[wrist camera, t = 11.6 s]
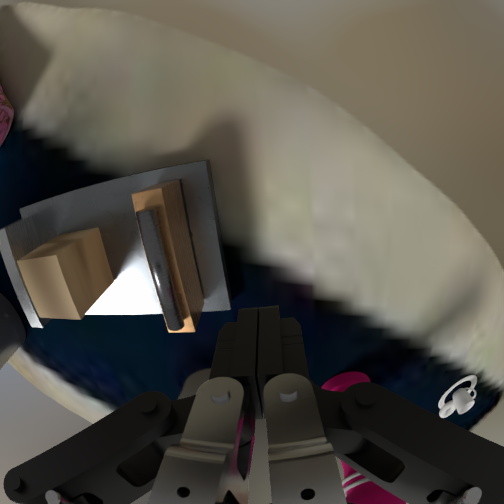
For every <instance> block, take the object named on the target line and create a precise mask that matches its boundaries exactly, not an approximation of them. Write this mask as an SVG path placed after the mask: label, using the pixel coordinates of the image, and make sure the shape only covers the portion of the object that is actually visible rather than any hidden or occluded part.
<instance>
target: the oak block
mask: <svg viewBox="0 0 504 504" xmlns="http://www.w3.org/2000/svg"><path fill="white" fill-rule="evenodd" d="M17 263H18V266H19V268H20V271H21V274H22V277H23V279H24V282H25V285H26V287H27V290H28V292H29V294H30V297H31V299H32V302H33V304H34V306H35V308H36V311H37V313H38V315H39V317H41V318H58V319H82V317H83V316H84V315H85V314H86V313H87V312H88V310H89V309H90V308H91V307H92V306H93V305H94V304H95V302H96V301H97V300H98V299H99V298H100V297H101V296H102V295H103V293H104V292H105V291H106V290H107V289H108V288H109V287H110V286H111V285H112V284H113V282H114V279H113V276H112V272H111V269H110V266H109V263H108V259H107V256H106V253H105V249H104V246H103V242H102V238H101V234H100V231H99V227H98V228H92V229H87V230H82V231H76V232H71V233H66V234H61V235H58V236H56V237H54V238H53V239H51V240H49V241H48V242H46V243H44V244H43V245H41V246H40V247H38V248H36V249H35V250H33V251H32V252H30V253H29V254H27V255H25V256H24V257H22V258H21V259H19V260H18V261H17Z"/></svg>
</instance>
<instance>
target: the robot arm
mask: <svg viewBox="0 0 504 504" xmlns="http://www.w3.org/2000/svg"><path fill="white" fill-rule="evenodd" d="M25 339H26V333H25V329H24V326H23V323H22V321H21V319H20V317H19V315H18V313H17V312H16V310H15V309H14V307H13V306H12V304H11V303H10V302H9V301H8V300H7V298H6V297H4V296H3V295H2V294H1V293H0V369H1V368H2V367H3V366H4V364H5V363H6V362H7V361H8V360H9V359H10V357H11V356H12V355H13V354H14V353H15V352H16V350H17V349H18V348H19V347H20V346H21V345H22V344H23V343H24V341H25ZM263 412H264V418H265V419H266V427H267V439H268V463H269V474H270V485H271V497H272V503H271V504H355V503H351V502H346V498H345V494H344V489H343V485H342V481H341V478H340V473H339V470H338V465H337V461H336V458H335V456H337V457H338V458H339V459H340V460H342V461H343V462H345V463H346V464H347V465H349V466H350V467H352V468H353V469H354V470H356V471H357V472H359V473H360V474H362V475H363V476H365V477H366V478H368V479H369V480H371V481H372V482H374V483H375V484H377V485H379V486H380V487H382V488H383V489H385V490H387V491H388V492H390V493H392V494H393V495H395V496H397V497H398V498H400V499H402V500H403V501H405V502H407V503H409V504H504V447H503V446H501V445H498V444H496V443H494V442H492V441H489V440H487V439H485V438H483V437H480V436H478V435H476V434H474V433H472V432H470V431H467V430H465V429H463V428H461V427H459V426H457V425H455V424H453V423H451V422H449V421H447V420H445V419H443V418H441V417H439V416H437V415H435V414H433V413H431V412H429V411H427V410H425V409H423V408H421V407H419V406H417V405H415V404H413V403H412V402H410V401H408V400H406V399H404V398H402V397H400V396H399V395H397V394H395V393H393V392H391V391H389V390H388V389H386V388H384V387H382V386H380V385H378V384H376V383H372V382H359V383H356V384H353V385H351V386H349V387H348V388H347V389H346V390H345V391H344V392H339V391H331V390H326V389H322V388H320V387H318V386H317V385H315V384H314V383H313V382H312V381H311V379H310V377H309V375H308V369H307V363H306V357H305V350H304V345H303V338H302V333H301V327H300V324H299V323H298V322H297V321H296V320H295V319H294V318H283V319H279V307H278V306H272V307H260V309H259V308H248V309H239V313H238V320H237V322H230V323H226V324H225V325H224V326H223V328H222V329H221V330H220V331H219V336H218V340H217V345H216V351H215V354H214V358H213V363H212V368H211V372H210V377H209V380H208V381H206V382H205V383H204V384H202V385H201V386H200V388H199V389H198V391H197V394H196V395H193V396H191V397H187V398H184V399H178V400H173V401H170V400H169V398H168V397H167V396H166V395H165V394H163V393H160V392H146V393H143V394H140V395H139V396H137V397H135V398H134V399H132V400H131V401H129V402H128V403H126V404H125V405H123V406H121V407H120V408H118V409H117V410H115V411H114V412H112V413H110V414H109V415H107V416H105V417H104V418H102V419H101V420H99V421H97V422H96V423H94V424H92V425H91V426H89V427H88V428H86V429H84V430H82V431H81V432H79V433H77V434H76V435H74V436H72V437H70V438H69V439H67V440H65V441H64V442H62V443H60V444H58V445H57V446H54V447H53V448H51V449H49V450H47V451H45V452H43V453H42V454H40V455H38V456H36V457H34V458H32V459H30V460H28V461H27V462H24V463H23V464H21V465H19V466H17V467H15V468H13V469H11V470H10V471H8V473H7V474H6V476H5V478H4V490H5V493H6V495H7V496H8V497H9V499H10V500H12V501H13V502H15V503H16V504H130V503H132V502H133V501H135V500H136V499H138V498H140V497H141V496H143V495H144V494H146V493H147V492H149V491H150V490H152V491H151V493H150V496H149V499H148V502H147V504H248V499H249V491H248V481H249V474H250V468H251V461H252V454H253V447H254V440H255V436H254V433H255V419H263Z"/></svg>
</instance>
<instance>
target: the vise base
mask: <svg viewBox="0 0 504 504" xmlns="http://www.w3.org/2000/svg"><path fill="white" fill-rule="evenodd" d="M175 180H179V181H180V187H181V192H182V198H183V204H184V209H185V215H186V220H187V225H188V230H189V235H190V240H191V245H192V250H193V255H194V259H195V264H196V269H197V273H198V278H199V282H200V287H201V291H202V295H203V299H204V306H203V309H202V312H204V311H220V310H231V305H232V295H231V290H230V284H229V279H228V273H227V267H226V262H225V256H224V250H223V244H222V238H221V232H220V226H219V220H218V213H217V207H216V201H215V194H214V188H213V181H212V174H211V168H210V161H209V160H204V161H198V162H192V163H186V164H181V165H175V166H170V167H165V168H160V169H155V170H151V171H146V172H141V173H137V174H133V175H129V176H124V177H120V178H116V179H112V180H108V181H105V182H101V183H97V184H94V185H90V186H86V187H83V188H80V189H76V190H73V191H70V192H66V193H63V194H60V195H57V196H54V197H51V198H48V199H45V200H42V201H39V202H36V203H33V204H31V205H28V206H25V207H23V208H21V209H20V213H21V217H22V219H20V220H17V221H15V222H13V223H11V224H9V225H7V226H5V227H3V228H1V229H0V251H1V254H2V257H3V260H4V263H5V266H6V269H7V272H8V274H9V277H10V280H11V282H12V285H13V287H14V290H15V292H16V294H17V297H18V299H19V301H20V304H21V306H22V308H23V310H24V312H25V315H26V317H27V319H28V321H29V323H30V325H31V327H38V328H43V327H44V326H45V325H46V324H47V323H48V322H49V321H50V320H51V319H52V318H41V317H39V315H38V313H37V311H36V308H35V306H34V304H33V302H32V299H31V297H30V294H29V292H28V290H27V287H26V285H25V282H24V279H23V277H22V274H21V271H20V268H19V266H18V263H17V261H18V260H19V259H21V258H22V257H24V256H25V255H27V254H29V253H30V252H32V251H33V250H35V249H36V248H38V247H40V246H41V245H43V244H44V243H46V242H48V241H49V240H51V239H53V238H54V237H56V236H58V235H61V234H66V233H71V232H76V231H82V230H87V229H92V228H98V227H99V231H100V234H101V238H102V242H103V246H104V249H105V253H106V256H107V259H108V263H109V266H110V269H111V272H112V276H113V279H114V282H113V284H112V285H111V286H110V287H109V288H108V289H107V290H106V291H105V292H104V293H103V295H102V296H101V297H100V298H99V299H98V300H97V301H96V302H95V304H94V305H93V306H92V307H91V308H90V309H89V310H88V312H87V313H86V314H85V315H123V314H163V313H162V310H161V306H160V303H159V300H158V297H157V294H156V290H155V287H154V284H153V280H152V277H151V273H150V270H149V266H148V263H147V259H146V255H145V251H144V247H143V243H142V239H141V235H140V231H139V227H138V223H137V218H136V214H135V209H134V204H133V200H132V195H131V194H133V193H135V192H137V191H140V190H142V189H144V188H146V187H149V186H151V185H153V184H158V183H164V182H169V181H175Z"/></svg>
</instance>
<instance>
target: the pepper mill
mask: <svg viewBox="0 0 504 504" xmlns="http://www.w3.org/2000/svg"><path fill="white" fill-rule="evenodd" d="M359 382H370V379H369V377H368V376H367V375H366V374H364V373H361V372H354V371H351V372H345V373H341V374H339V375H336V376H334V377H332V378H331V379H329V380H328V381H327V382H325V384H324V385H323V386H322V387H321V388H322V389H326V390H331V391H339V392H344V391H345V390H346V389H347V388H348V387H349V386H351V385H353V384H356V383H359ZM341 462H342V466H343V469H344V478H345V479H344V480H343V481H342V485H343V489H344V494H345V495H347V497H346V502H351V503H355V504H406V502H405V501H403V500H402V499H400V498H398V497H397V496H395V495H393V494H392V493H390V492H388V491H387V490H385V489H383V488H382V487H380V486H379V485H377V484H375V483H374V482H372V481H371V480H369V479H368V478H366V477H365V476H363V475H362V474H360V473H359V472H357V471H356V470H354V469H353V468H352V467H350V466H349V465H347V464H346V463H345V462H343V461H342V460H341Z"/></svg>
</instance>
